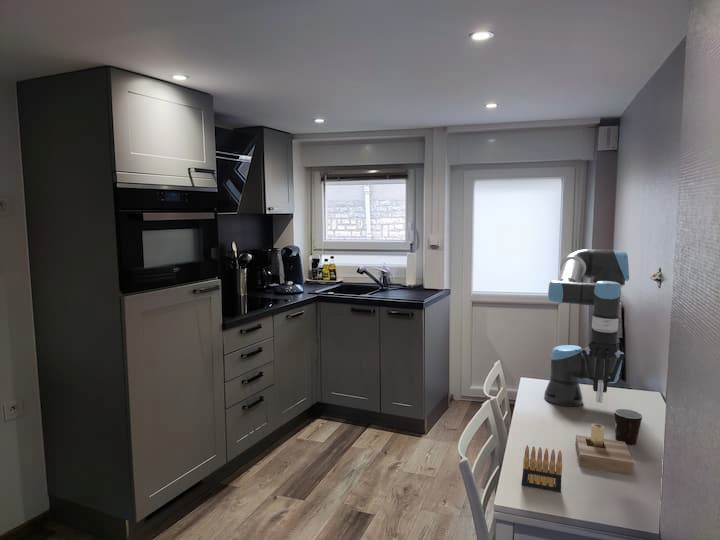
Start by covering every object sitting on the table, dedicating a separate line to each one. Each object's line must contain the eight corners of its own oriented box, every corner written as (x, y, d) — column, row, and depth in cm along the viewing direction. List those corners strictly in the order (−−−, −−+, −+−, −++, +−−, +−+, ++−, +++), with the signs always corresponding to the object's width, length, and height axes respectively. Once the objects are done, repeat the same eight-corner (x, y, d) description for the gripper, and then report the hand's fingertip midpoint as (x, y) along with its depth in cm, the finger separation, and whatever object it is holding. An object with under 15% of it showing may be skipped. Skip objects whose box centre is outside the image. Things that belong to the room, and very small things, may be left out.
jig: (575, 446, 174) (576, 434, 173) (624, 453, 169) (625, 442, 169) (579, 466, 160) (580, 454, 159) (632, 475, 155) (633, 462, 155)
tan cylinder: (588, 451, 170) (591, 422, 169) (601, 453, 169) (603, 424, 167) (590, 456, 166) (592, 427, 165) (602, 458, 165) (605, 429, 164)
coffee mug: (617, 433, 185) (619, 407, 184) (643, 441, 179) (645, 414, 178) (605, 443, 177) (607, 415, 175) (632, 451, 170) (634, 423, 169)
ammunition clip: (521, 485, 148) (523, 445, 146) (521, 482, 149) (524, 443, 148) (561, 492, 144) (563, 452, 143) (560, 489, 146) (563, 449, 145)
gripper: (583, 330, 161) (577, 402, 164) (629, 334, 157) (623, 408, 160) (581, 325, 168) (575, 394, 171) (625, 329, 164) (619, 400, 167)
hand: (598, 401), depth 165 cm, fingers closed
